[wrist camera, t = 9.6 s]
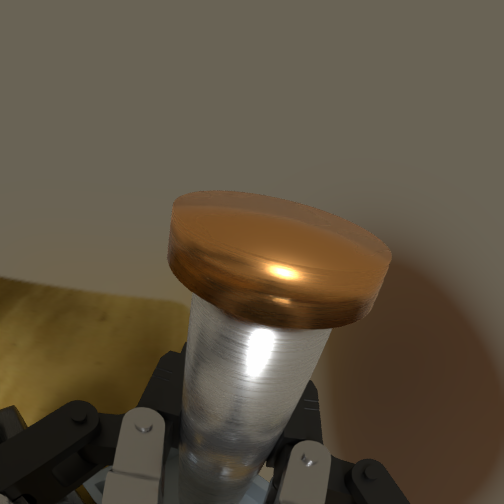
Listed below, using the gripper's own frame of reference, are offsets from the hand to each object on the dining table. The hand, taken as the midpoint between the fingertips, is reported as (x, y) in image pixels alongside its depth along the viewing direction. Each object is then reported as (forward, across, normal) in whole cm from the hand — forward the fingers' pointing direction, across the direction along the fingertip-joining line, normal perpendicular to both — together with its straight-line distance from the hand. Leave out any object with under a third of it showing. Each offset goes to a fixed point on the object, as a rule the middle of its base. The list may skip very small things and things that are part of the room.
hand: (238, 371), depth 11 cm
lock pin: (-3, 0, +8) cm, 8 cm away
